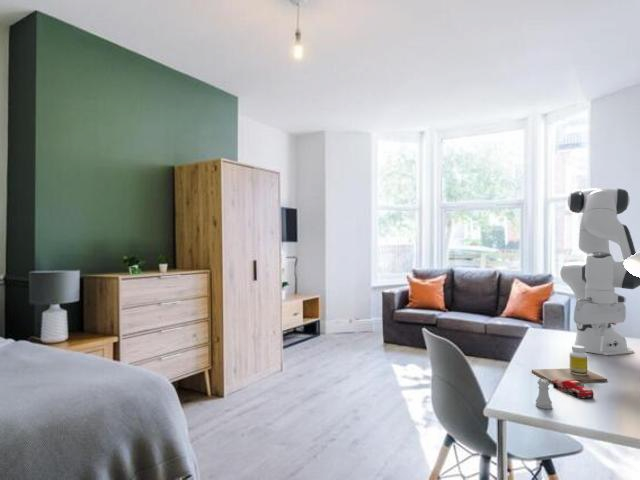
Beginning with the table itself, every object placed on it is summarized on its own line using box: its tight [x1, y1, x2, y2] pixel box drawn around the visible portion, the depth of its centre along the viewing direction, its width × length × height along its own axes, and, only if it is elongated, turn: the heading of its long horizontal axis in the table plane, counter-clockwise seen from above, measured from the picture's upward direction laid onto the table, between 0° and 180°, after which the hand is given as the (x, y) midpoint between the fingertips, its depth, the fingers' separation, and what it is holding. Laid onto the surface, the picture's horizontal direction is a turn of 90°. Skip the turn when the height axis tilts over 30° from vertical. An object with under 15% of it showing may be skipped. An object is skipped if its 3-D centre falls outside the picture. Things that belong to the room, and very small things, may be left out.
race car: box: [552, 379, 594, 399], centre depth 132 cm, size 13×5×4 cm, turn 11°
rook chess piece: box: [535, 377, 553, 410], centre depth 121 cm, size 4×4×8 cm
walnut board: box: [531, 367, 608, 385], centre depth 146 cm, size 20×12×1 cm, turn 93°
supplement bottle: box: [569, 344, 588, 376], centre depth 146 cm, size 5×5×10 cm
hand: (599, 335), depth 146 cm, fingers closed
